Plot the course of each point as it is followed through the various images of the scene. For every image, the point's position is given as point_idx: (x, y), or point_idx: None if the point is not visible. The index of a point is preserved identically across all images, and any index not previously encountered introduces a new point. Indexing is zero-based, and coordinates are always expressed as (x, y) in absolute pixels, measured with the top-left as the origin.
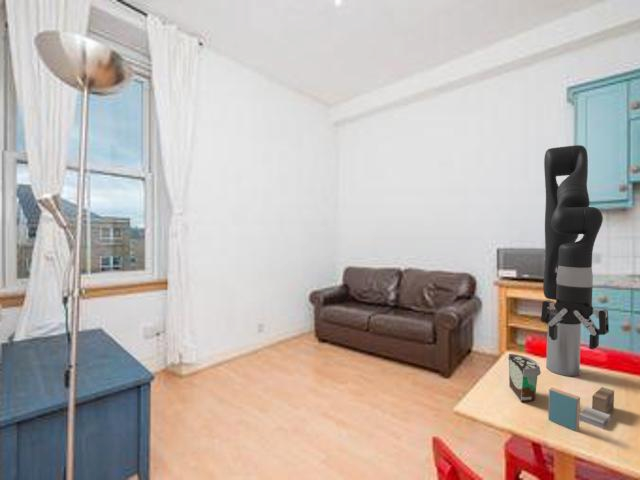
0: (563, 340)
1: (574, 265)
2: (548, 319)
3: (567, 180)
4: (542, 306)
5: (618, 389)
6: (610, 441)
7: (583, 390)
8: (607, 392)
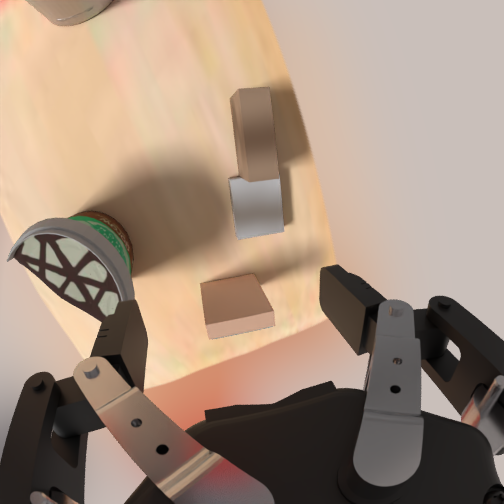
0: None
1: None
2: (84, 427)
3: None
4: None
5: None
6: (303, 262)
7: (166, 53)
8: (264, 118)
